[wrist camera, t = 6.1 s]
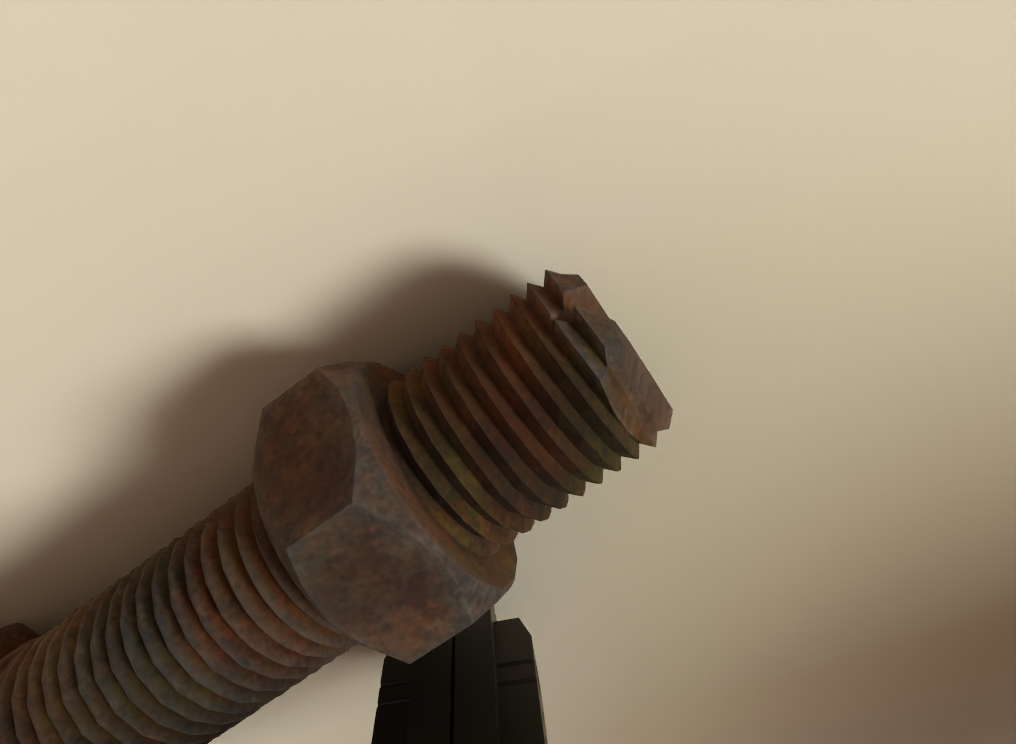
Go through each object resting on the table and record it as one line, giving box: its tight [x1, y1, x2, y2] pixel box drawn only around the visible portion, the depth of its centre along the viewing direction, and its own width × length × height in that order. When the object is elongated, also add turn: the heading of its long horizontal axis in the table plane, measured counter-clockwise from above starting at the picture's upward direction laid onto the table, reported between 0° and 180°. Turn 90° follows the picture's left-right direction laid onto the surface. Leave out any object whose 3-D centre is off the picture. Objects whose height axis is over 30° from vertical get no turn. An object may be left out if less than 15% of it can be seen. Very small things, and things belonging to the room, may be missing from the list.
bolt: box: [0, 270, 673, 744], centre depth 11 cm, size 6×5×15 cm
